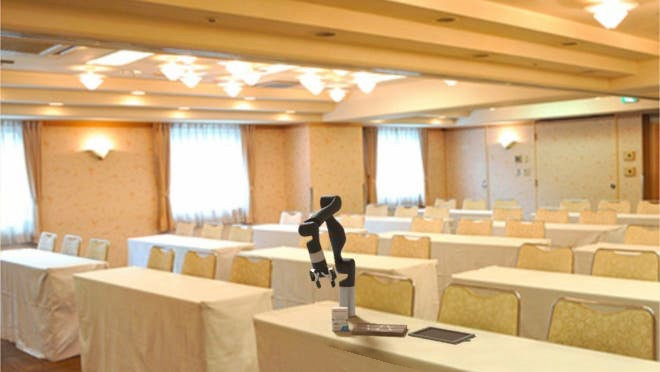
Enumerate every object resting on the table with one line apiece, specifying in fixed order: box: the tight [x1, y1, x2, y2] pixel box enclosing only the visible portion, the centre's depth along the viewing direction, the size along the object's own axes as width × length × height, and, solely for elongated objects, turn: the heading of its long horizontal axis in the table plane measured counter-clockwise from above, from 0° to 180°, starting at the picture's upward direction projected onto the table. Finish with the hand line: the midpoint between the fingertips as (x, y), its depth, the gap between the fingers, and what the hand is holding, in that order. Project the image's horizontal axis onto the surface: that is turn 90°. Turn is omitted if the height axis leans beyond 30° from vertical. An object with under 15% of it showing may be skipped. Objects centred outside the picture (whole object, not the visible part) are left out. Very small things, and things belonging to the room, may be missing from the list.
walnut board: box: [351, 322, 408, 337], centre depth 342 cm, size 16×26×2 cm, turn 75°
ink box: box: [331, 306, 350, 332], centre depth 347 cm, size 9×5×12 cm, turn 84°
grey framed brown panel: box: [407, 326, 476, 345], centre depth 330 cm, size 19×2×30 cm
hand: (326, 287), depth 341 cm, fingers open, 8 cm apart
